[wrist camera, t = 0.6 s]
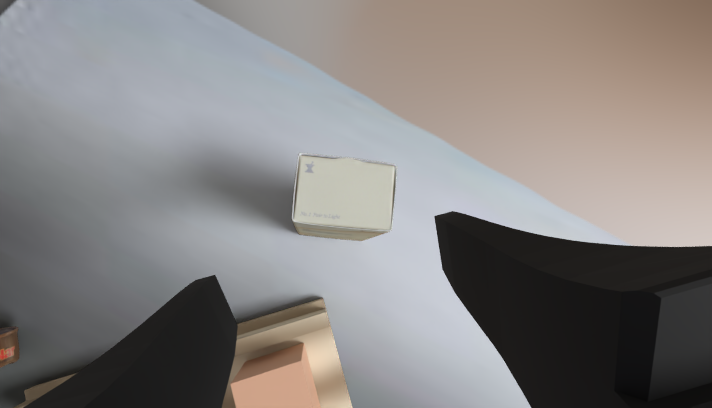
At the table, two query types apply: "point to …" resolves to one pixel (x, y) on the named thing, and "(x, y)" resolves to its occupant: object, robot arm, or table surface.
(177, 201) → the table surface
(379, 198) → the skincare box
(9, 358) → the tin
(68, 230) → the table surface
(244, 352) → the chute
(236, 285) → the table surface
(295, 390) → the block
